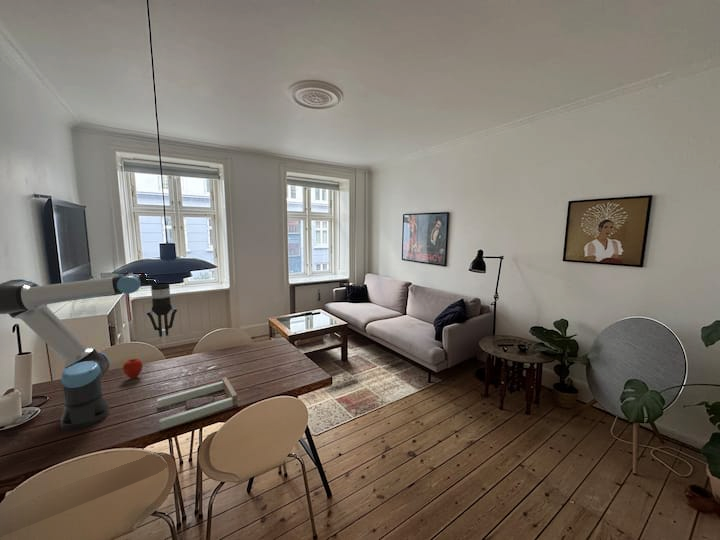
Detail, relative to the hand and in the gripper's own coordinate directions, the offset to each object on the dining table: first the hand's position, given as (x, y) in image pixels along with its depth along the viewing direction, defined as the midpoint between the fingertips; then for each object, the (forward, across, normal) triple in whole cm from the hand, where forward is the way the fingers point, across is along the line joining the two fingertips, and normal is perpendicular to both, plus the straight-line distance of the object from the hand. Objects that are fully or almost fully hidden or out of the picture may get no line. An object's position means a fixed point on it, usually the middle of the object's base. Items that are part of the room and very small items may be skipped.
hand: (164, 342), depth 147 cm
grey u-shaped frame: (+24, +10, -27) cm, 38 cm away
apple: (+25, -14, +21) cm, 35 cm away
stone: (+25, +10, -30) cm, 41 cm away
